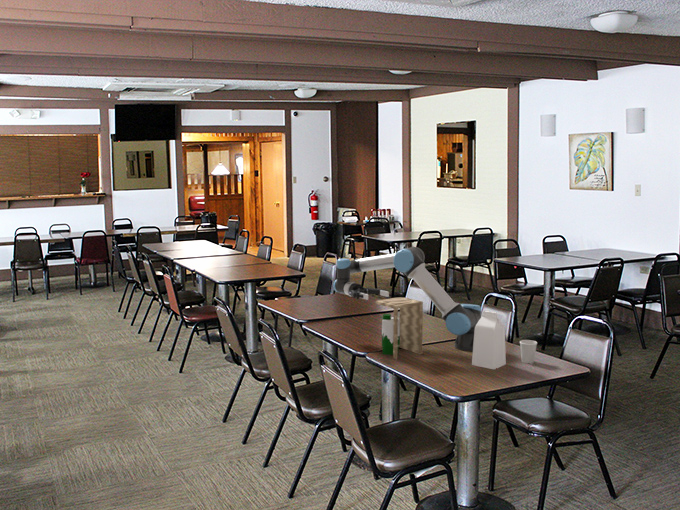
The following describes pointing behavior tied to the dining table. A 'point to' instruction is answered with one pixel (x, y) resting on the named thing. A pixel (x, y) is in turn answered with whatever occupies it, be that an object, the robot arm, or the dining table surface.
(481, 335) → the milk
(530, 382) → the dining table surface
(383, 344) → the soya milk
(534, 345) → the dixie cup
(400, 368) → the dining table surface
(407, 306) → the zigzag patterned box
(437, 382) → the dining table surface
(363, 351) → the dining table surface
